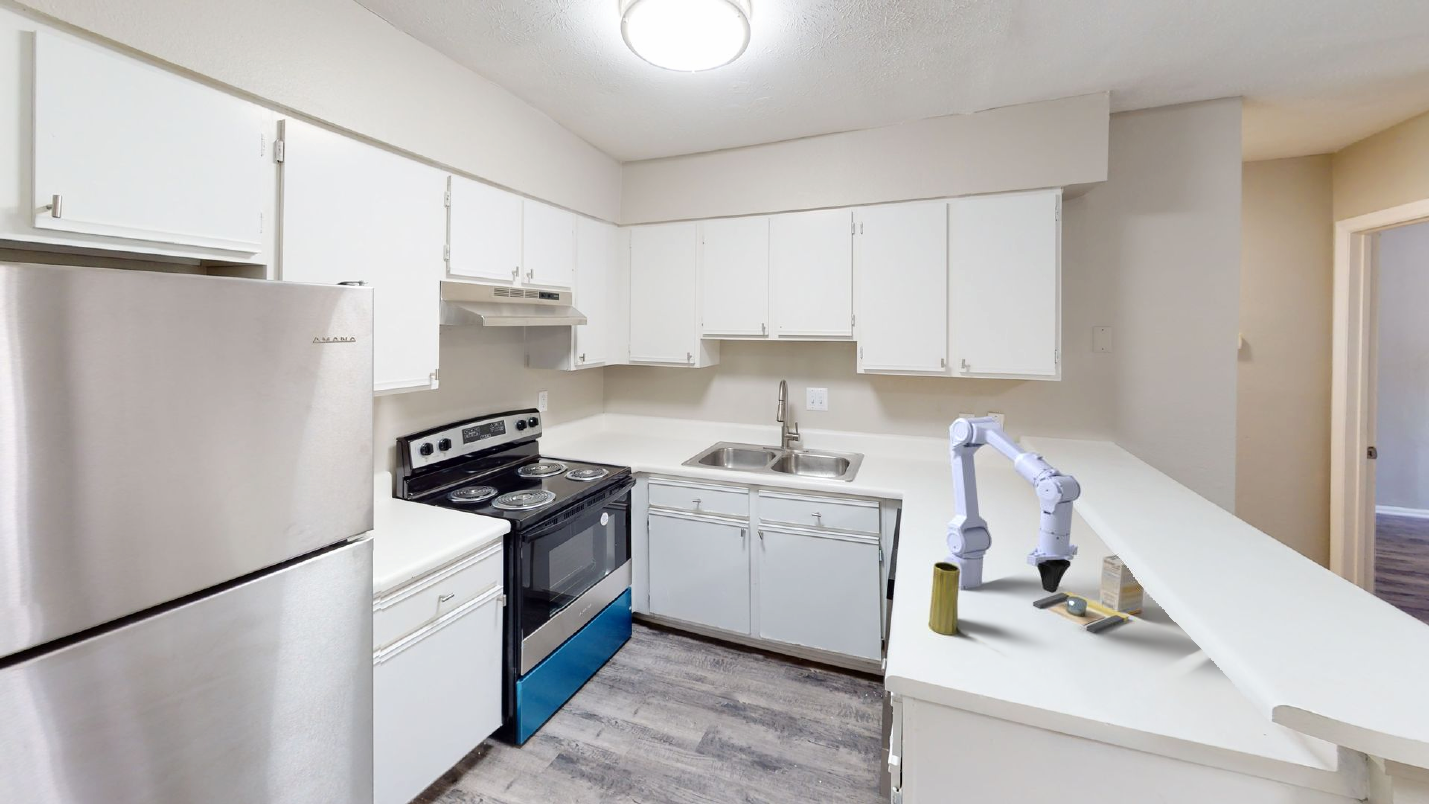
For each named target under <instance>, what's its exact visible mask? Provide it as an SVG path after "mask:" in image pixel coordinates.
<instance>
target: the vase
mask: <svg viewBox="0 0 1429 804" xmlns="http://www.w3.org/2000/svg"><path fill="white" fill-rule="evenodd" d="M959 575H960V569H959V567H958V566H956V565H954V564H952V563H948V562H944V561H939V562H938V561H937V562H935V563H934V564H933V574H932V585H931V586H932V588H931V598H930V599H931V600H930V608H929V621H928V627H929V628H930V629H931V630H932V631H934V632H935V633H938V634H941V635H945V636H947V635H948V636H949V635H950V636H951V635H955V634H957V633H958V632H959V627H958V624H959V621H958V620H959V618H958V617H959V612H958V610H959V607H958V606H959V605H958V604H959V603H958V600H959V591H958V590H959Z"/></svg>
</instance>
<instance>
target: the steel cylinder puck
mask: <svg viewBox="0 0 1429 804" xmlns="http://www.w3.org/2000/svg"><path fill="white" fill-rule="evenodd" d="M1066 602H1067V606H1066V611H1067V613H1069V614H1071V615H1073V616H1077V617H1084V616H1086V609H1088V607H1087V601H1086V600H1084V599H1082V598H1079V597H1074V596H1070V597H1068V598H1067V600H1066Z"/></svg>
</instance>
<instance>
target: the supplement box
mask: <svg viewBox="0 0 1429 804" xmlns="http://www.w3.org/2000/svg"><path fill="white" fill-rule="evenodd" d="M1117 555H1118V554H1112V555H1109V556H1104V557H1102V566H1101V567H1102V568H1101V578H1100V579H1101V580H1100V588H1099V589H1100V591H1099V601H1098V602H1099V603H1098V604H1100V605H1102V606H1105V607H1107V608H1109V609H1112V610H1114V611H1117V612H1119V613H1122V612H1123V613H1125V614H1128V615H1130V616H1131V615H1134V614H1139V613H1142V609H1143V598H1144V588H1145V587H1144V588H1143V587H1142V586H1141V585H1140V584H1139V583H1138V581H1137V580H1136V579H1135V577H1133V574H1132V573H1131V571H1130V570H1129V568H1127V566H1126V565H1125V564H1124V562H1123V561H1122V560H1121V559H1120V558H1119V557H1118V556H1117Z"/></svg>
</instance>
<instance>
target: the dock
mask: <svg viewBox="0 0 1429 804" xmlns="http://www.w3.org/2000/svg"><path fill="white" fill-rule="evenodd" d="M1070 596H1074V597H1079V598H1082V599H1084V600H1086V601H1087V608H1089V609H1090V610H1091V609H1092V611H1093V610H1094V611H1096V612H1097V613H1101V614H1103V615H1106V616H1108V617H1107V618H1105V619H1104V618H1103V619H1101V620H1100V621H1099V620H1098V621H1095V622H1093V623H1090V624H1088V625H1086V631H1087V632H1089V633H1092V634H1098V633H1099V632H1102V631H1105V630H1108V629H1109V628H1113V627H1115V626H1117V625H1120V624H1122V623H1125V622H1127V621H1129V615H1126V614H1124V613H1122V612H1117V611H1114V610H1112V609H1110V608H1108V607H1106V606H1104V605H1102V604H1099V603H1097V602H1095V601H1093V600H1090V599H1087V598H1085V597H1083V596H1080V595H1078V594H1075V593H1073V592H1070V591H1067V590H1065V591H1062V592H1060V593H1057V594H1053V595H1050V596H1047V597H1044V598H1040V599H1038V600H1035V601H1032V607H1035V608H1037V609H1043V608H1046V607H1049V606H1052V605H1055V604H1058V603H1060V602H1063V601H1067V598H1068V597H1070Z"/></svg>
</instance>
